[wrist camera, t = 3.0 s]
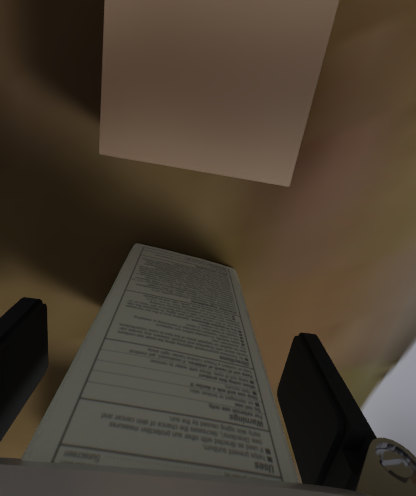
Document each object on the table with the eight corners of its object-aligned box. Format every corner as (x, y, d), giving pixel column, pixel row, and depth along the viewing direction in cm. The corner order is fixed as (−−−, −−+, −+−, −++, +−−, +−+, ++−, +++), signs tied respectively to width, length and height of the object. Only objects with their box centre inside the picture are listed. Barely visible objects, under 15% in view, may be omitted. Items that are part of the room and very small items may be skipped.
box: (116, 315, 15) (-71, 719, 5) (134, 238, 14) (-78, 579, 3) (215, 339, 16) (243, 740, 5) (243, 268, 14) (356, 631, 4)
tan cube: (149, -4, 10) (108, -113, 6) (287, 25, 11) (353, -54, 6) (137, 145, 12) (98, 154, 8) (256, 166, 13) (289, 186, 8)
